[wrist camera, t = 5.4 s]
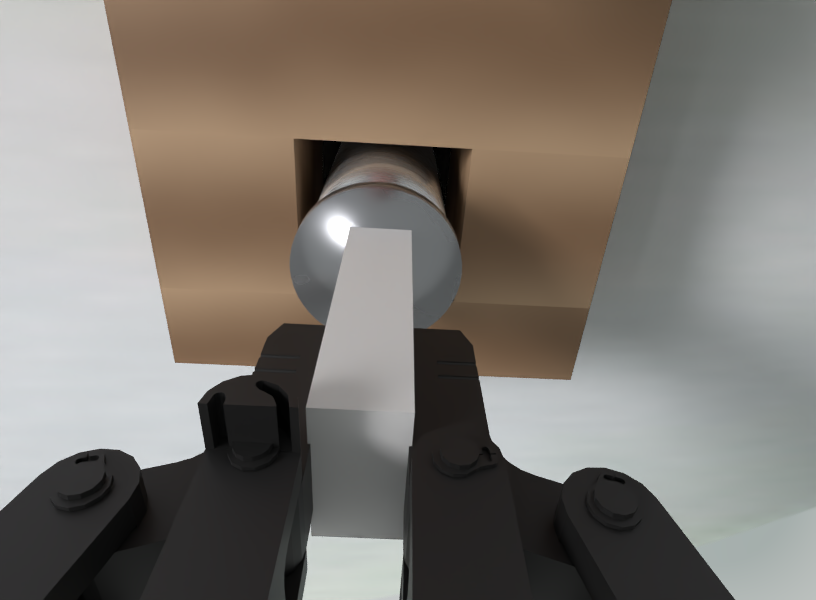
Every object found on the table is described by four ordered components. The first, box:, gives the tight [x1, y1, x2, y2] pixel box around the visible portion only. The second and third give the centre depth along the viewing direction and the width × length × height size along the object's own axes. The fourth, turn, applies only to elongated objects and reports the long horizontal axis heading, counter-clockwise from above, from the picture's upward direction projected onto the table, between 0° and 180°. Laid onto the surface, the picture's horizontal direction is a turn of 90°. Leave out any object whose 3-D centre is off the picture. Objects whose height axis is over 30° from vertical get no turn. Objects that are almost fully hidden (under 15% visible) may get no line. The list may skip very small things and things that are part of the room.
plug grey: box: [290, 141, 462, 329], centre depth 18 cm, size 4×4×9 cm
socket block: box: [104, 0, 672, 380], centre depth 16 cm, size 22×14×6 cm, turn 177°
